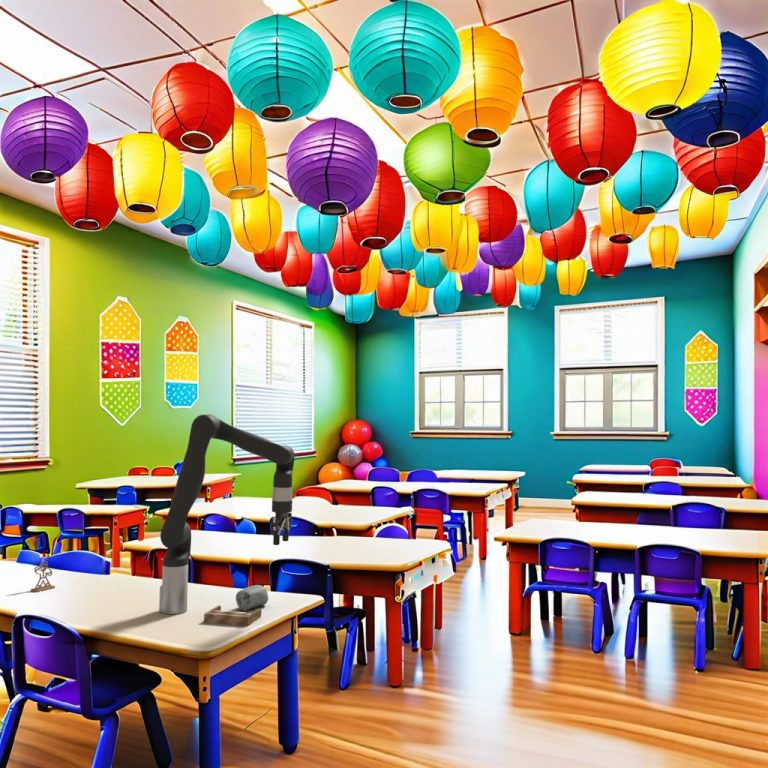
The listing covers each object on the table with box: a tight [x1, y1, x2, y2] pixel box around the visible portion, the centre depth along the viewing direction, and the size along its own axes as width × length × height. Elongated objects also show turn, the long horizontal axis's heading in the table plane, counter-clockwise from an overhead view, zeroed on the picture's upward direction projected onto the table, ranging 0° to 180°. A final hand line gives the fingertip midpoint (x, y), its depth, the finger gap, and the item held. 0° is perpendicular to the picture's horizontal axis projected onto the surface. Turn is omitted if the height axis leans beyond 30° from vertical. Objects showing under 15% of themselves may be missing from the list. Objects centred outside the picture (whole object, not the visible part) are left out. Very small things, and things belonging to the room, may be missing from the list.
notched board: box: [203, 605, 262, 627], centre depth 246 cm, size 17×11×4 cm, turn 77°
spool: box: [235, 584, 269, 612], centre depth 262 cm, size 14×10×10 cm
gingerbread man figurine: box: [30, 560, 56, 593], centre depth 287 cm, size 9×4×12 cm, turn 154°
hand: (280, 543), depth 254 cm, fingers open, 8 cm apart
